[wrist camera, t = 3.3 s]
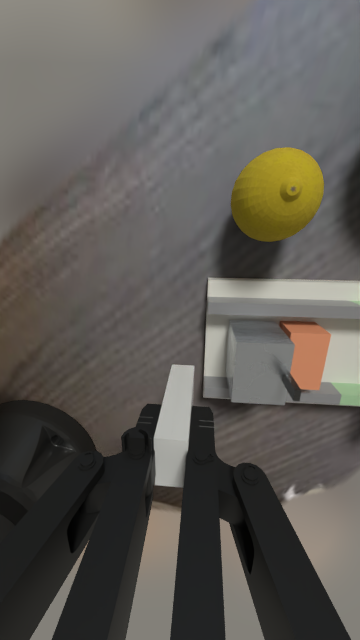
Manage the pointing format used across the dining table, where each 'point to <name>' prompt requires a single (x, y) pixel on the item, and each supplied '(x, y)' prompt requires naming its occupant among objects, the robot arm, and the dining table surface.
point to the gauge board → (288, 305)
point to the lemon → (277, 194)
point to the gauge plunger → (259, 363)
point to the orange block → (307, 352)
